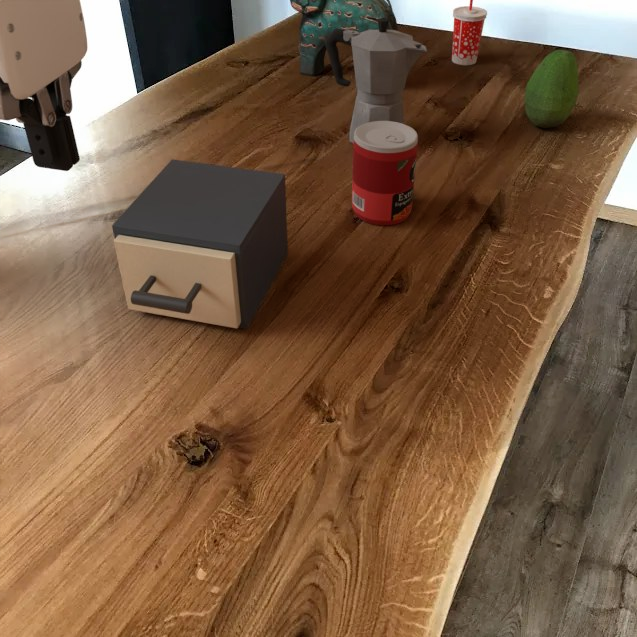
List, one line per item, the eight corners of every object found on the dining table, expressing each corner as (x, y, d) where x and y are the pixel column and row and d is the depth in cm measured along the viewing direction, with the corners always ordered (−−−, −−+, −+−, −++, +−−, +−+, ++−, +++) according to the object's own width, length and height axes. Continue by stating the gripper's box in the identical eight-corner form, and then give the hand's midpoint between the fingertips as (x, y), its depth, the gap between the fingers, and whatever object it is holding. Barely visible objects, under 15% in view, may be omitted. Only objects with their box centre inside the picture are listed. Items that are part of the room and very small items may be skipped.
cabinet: (247, 329, 78) (240, 245, 71) (129, 308, 81) (111, 225, 74) (288, 253, 89) (285, 173, 82) (183, 237, 92) (171, 159, 85)
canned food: (403, 231, 93) (409, 152, 86) (343, 220, 95) (345, 141, 88) (418, 202, 98) (425, 125, 91) (361, 192, 100) (364, 116, 93)
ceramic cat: (288, 74, 133) (285, -46, 120) (306, 62, 138) (304, -54, 125) (388, 94, 126) (395, -30, 113) (403, 82, 130) (412, -40, 117)
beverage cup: (486, 60, 138) (498, -19, 129) (469, 69, 135) (479, -11, 126) (459, 52, 141) (468, -25, 132) (441, 61, 138) (449, -18, 129)
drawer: (223, 355, 74) (214, 284, 68) (109, 333, 76) (92, 264, 70) (277, 257, 87) (273, 191, 81) (178, 241, 89) (169, 176, 84)
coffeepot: (427, 133, 114) (439, 14, 103) (407, 159, 107) (417, 35, 96) (337, 116, 119) (338, 0, 108) (312, 140, 113) (311, 19, 101)
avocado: (580, 130, 115) (599, 53, 107) (541, 140, 112) (557, 62, 105) (547, 111, 120) (562, 37, 113) (508, 120, 118) (521, 45, 110)
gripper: (9, -116, 53) (64, 120, 65) (-140, -71, 42) (-41, 204, 54) (102, -111, 52) (141, 130, 64) (-28, -62, 41) (49, 219, 53)
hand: (57, 163), depth 59 cm, fingers closed
